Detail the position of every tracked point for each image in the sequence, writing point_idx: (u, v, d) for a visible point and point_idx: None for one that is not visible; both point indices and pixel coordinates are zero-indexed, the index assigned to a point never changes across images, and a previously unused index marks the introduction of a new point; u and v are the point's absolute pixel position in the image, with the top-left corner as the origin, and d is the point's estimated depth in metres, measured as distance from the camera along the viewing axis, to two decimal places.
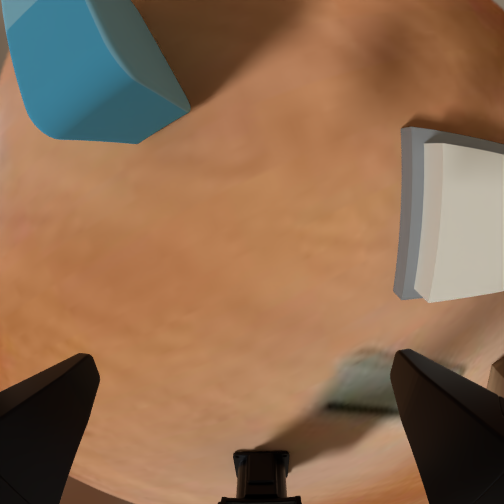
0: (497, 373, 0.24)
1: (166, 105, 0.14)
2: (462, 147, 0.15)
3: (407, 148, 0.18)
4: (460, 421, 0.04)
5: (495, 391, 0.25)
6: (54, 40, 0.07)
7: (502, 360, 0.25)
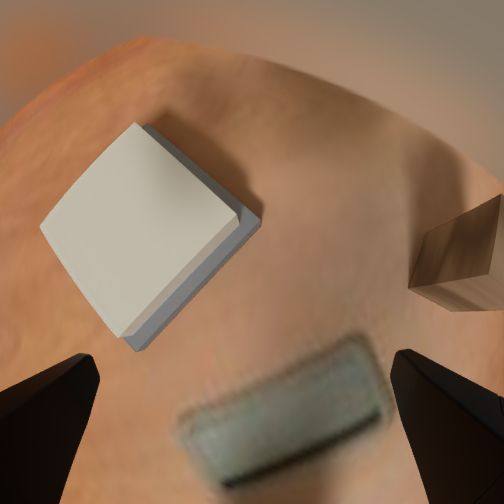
0: (419, 288, 0.20)
1: None
2: (52, 210, 0.19)
3: None
4: (460, 421, 0.04)
5: (451, 303, 0.19)
6: None
7: (416, 268, 0.21)
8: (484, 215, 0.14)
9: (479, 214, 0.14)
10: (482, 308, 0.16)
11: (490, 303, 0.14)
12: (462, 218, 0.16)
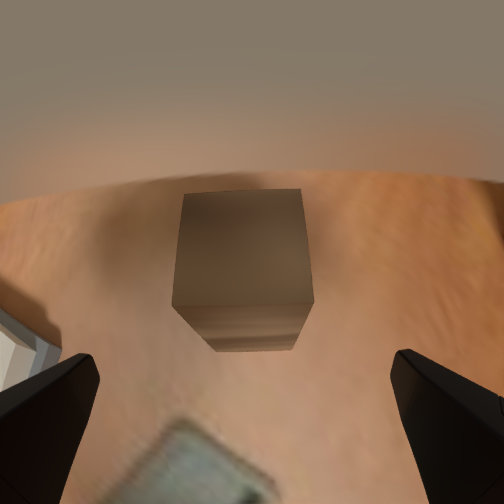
0: (216, 347, 0.18)
1: None
2: None
3: None
4: (460, 421, 0.04)
5: (266, 345, 0.17)
6: None
7: None
8: None
9: None
10: (289, 334, 0.15)
11: (275, 327, 0.13)
12: None
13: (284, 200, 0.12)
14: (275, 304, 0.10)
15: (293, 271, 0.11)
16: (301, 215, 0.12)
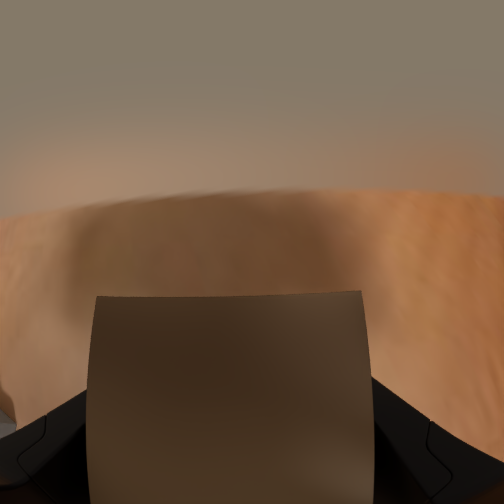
0: None
1: None
2: None
3: None
4: (377, 445, 0.04)
5: None
6: None
7: None
8: None
9: None
10: None
11: None
12: None
13: (324, 326, 0.05)
14: None
15: (335, 503, 0.03)
16: (363, 367, 0.04)
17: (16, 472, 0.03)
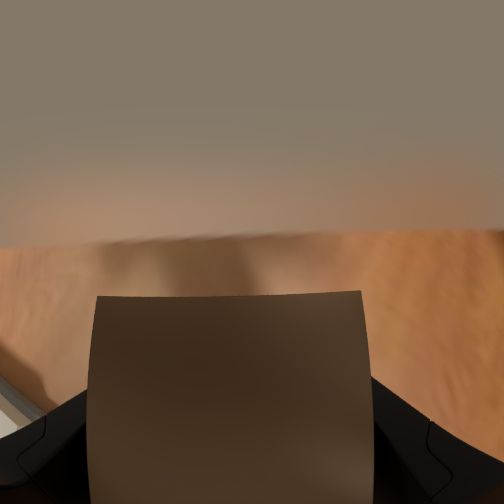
0: None
1: None
2: None
3: None
4: (377, 445, 0.04)
5: None
6: None
7: None
8: None
9: None
10: None
11: None
12: None
13: (324, 325, 0.05)
14: None
15: (335, 502, 0.03)
16: (363, 367, 0.05)
17: (17, 473, 0.03)
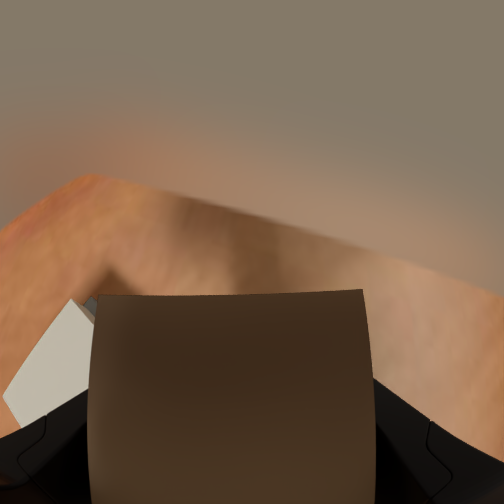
0: None
1: None
2: (11, 383, 0.15)
3: None
4: (377, 444, 0.04)
5: None
6: None
7: None
8: None
9: None
10: None
11: None
12: None
13: (326, 324, 0.05)
14: None
15: (337, 502, 0.03)
16: (365, 365, 0.05)
17: (16, 472, 0.03)
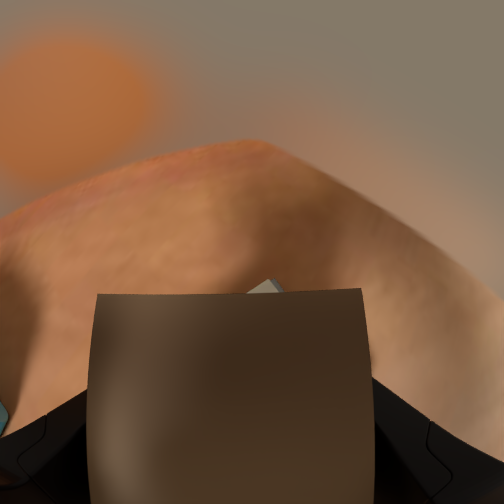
0: None
1: None
2: None
3: None
4: (377, 445, 0.04)
5: None
6: None
7: None
8: None
9: None
10: None
11: None
12: None
13: (324, 323, 0.05)
14: None
15: (336, 501, 0.03)
16: (364, 364, 0.05)
17: (17, 473, 0.03)
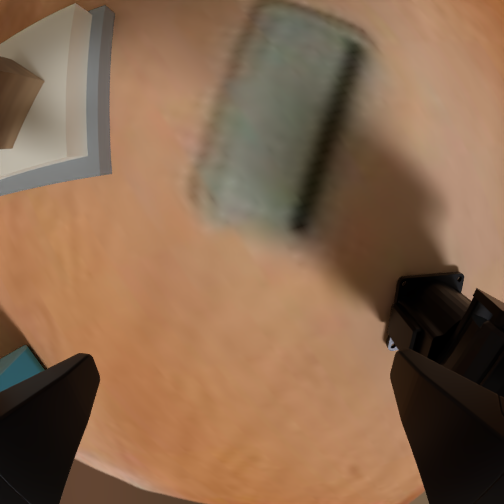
0: None
1: (5, 374, 0.19)
2: None
3: None
4: (460, 421, 0.04)
5: (11, 101, 0.11)
6: None
7: None
8: None
9: None
10: None
11: None
12: None
13: None
14: None
15: None
16: None
17: None
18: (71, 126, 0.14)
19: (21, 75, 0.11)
